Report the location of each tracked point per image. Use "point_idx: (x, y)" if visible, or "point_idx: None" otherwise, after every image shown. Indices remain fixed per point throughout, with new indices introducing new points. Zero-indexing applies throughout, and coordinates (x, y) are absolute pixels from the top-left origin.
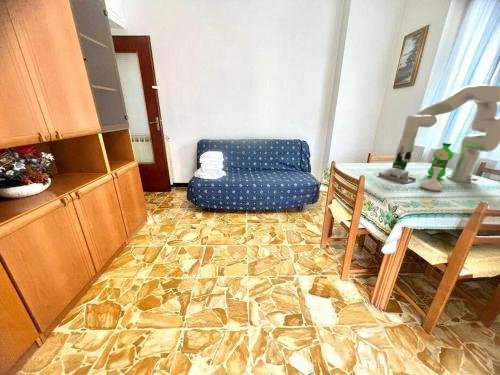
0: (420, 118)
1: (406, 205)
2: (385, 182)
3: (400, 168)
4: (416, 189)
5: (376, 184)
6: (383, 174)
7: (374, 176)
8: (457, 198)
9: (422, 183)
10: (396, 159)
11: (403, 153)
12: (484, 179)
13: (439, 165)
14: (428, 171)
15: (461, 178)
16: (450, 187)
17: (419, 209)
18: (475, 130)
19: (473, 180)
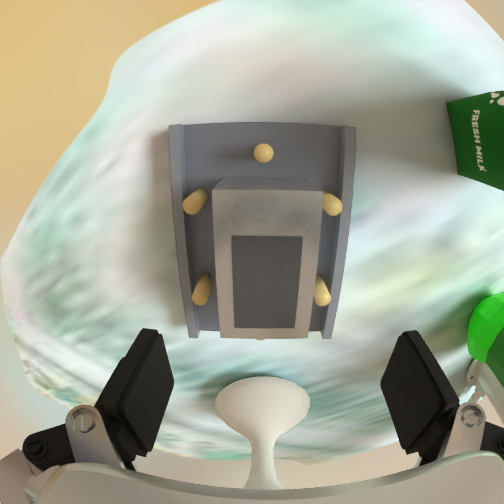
0: None
1: (44, 384)
2: (105, 252)
3: (473, 165)
4: (182, 378)
5: (41, 250)
6: (176, 166)
7: (141, 120)
8: (242, 444)
9: (229, 399)
10: (136, 345)
11: None
12: None
13: (500, 374)
14: (495, 307)
15: (477, 378)
16: (365, 406)
17: (61, 404)
18: None
19: (471, 396)
